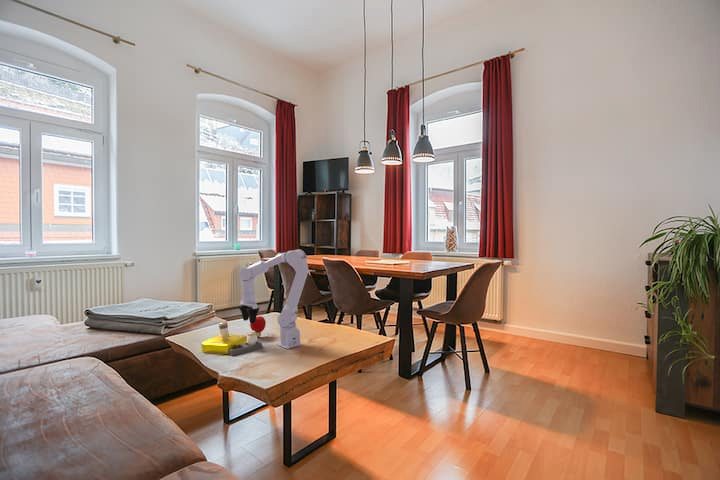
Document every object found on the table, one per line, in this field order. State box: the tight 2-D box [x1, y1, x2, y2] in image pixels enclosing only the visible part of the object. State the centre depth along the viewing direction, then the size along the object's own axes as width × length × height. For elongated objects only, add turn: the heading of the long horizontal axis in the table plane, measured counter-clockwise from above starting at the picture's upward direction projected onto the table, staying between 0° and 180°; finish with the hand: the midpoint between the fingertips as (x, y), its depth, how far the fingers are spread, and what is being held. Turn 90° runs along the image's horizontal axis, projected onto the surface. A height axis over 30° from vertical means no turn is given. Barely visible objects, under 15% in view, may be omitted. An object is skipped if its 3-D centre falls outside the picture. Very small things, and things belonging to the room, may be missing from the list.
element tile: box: [201, 333, 248, 355], centre depth 162 cm, size 15×15×5 cm
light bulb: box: [249, 315, 267, 338], centre depth 177 cm, size 9×7×10 cm
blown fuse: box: [218, 321, 230, 339], centre depth 162 cm, size 4×4×7 cm
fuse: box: [246, 331, 257, 346], centre depth 160 cm, size 4×4×7 cm
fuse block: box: [227, 339, 263, 357], centre depth 158 cm, size 6×14×2 cm, turn 131°
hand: (249, 321), depth 168 cm, fingers open, 7 cm apart
